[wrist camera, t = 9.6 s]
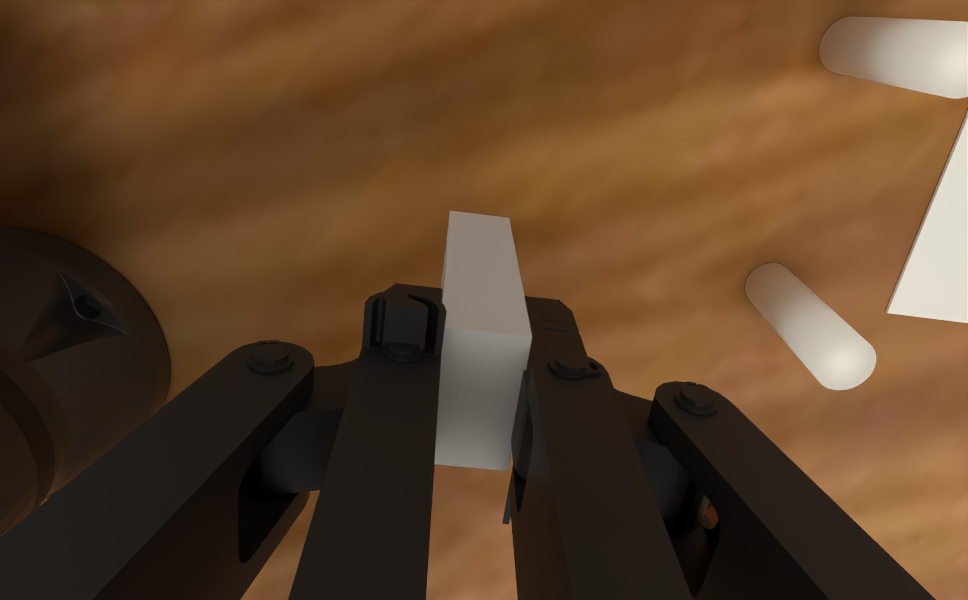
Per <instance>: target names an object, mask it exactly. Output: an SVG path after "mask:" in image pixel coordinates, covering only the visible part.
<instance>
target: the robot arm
mask: <svg viewBox="0 0 968 600" xmlns="http://www.w3.org/2000/svg"><path fill="white" fill-rule="evenodd" d="M169 377H170V367H169V358H168V353H167V348H166V345H165V341H164V338H163V335H162V333H161V330H160V328H159V326H158V324H157V322H156V320H155V318H154V316H153V315H152V313H151V311H150V310H149V308H148V307H147V305H146V304H145V302H144V301H143V300H142V298H141V297H140V296H139V295H138V293H137V292H136V291H135V290H134V289H133V288H132V287H131V286H130V285H129V283H128V282H127V281H125V280H124V279H123V278H122V277H121V276H120V275H119V274H118V273H117V272H115V271H114V270H113V269H112V268H111V267H109V266H108V265H107V264H105V263H104V262H103V261H101V260H100V259H98V258H97V257H95V256H93V255H92V254H90V253H88V252H87V251H85V250H83V249H81V248H79V247H77V246H75V245H73V244H71V243H68V242H66V241H64V240H61V239H58V238H56V237H53V236H50V235H46V234H43V233H39V232H34V231H29V230H23V229H14V228H0V600H240V599H241V598H242V596H243V595H244V593H245V592H246V591H247V589H248V588H249V586H250V585H251V583H252V582H253V581H254V579H255V578H256V576H257V575H258V573H259V572H260V570H261V569H262V568H263V566H264V565H265V563H266V562H267V560H268V559H269V557H270V556H271V555H272V553H273V552H274V550H275V549H276V547H277V546H278V545H279V543H280V542H281V540H282V539H283V537H284V536H285V534H286V533H287V532H288V530H289V529H290V527H291V526H292V524H293V523H294V522H295V520H296V519H297V517H298V516H299V514H300V513H301V511H302V510H303V509H304V507H305V506H306V503H307V501H308V498H309V493H310V491H314V490H320V493H319V497H318V500H317V503H316V507H315V510H314V514H313V517H312V521H311V524H310V527H309V531H308V534H307V538H306V541H305V544H304V548H303V551H302V555H301V558H300V562H299V565H298V568H297V572H296V575H295V579H294V582H293V586H292V589H291V592H290V596H289V599H288V600H426V587H427V571H428V556H429V540H430V524H431V509H432V493H433V477H434V464H437V465H448V466H458V467H469V468H480V469H491V470H501V471H508V467H509V461H510V456H511V450H512V456H513V469H512V474H511V480H510V485H509V490H508V496H507V501H506V507H505V512H504V517H503V523H502V524H509V521H510V517H511V522H512V534H513V546H514V558H515V570H516V583H517V595H518V600H936V599H935V598H934V597H933V596H931V595H930V594H929V593H928V592H927V591H926V590H925V589H924V588H923V587H922V586H921V585H920V584H919V583H918V582H917V581H916V580H915V579H914V578H913V577H912V576H911V575H910V574H909V573H908V572H907V571H906V570H905V569H903V568H902V567H901V566H900V565H899V564H898V563H897V562H896V561H895V560H894V559H893V558H892V557H891V556H890V555H889V554H888V553H887V552H886V551H885V550H884V549H883V548H882V547H881V546H880V545H879V544H878V543H877V542H875V541H874V540H873V539H872V538H871V537H870V536H869V535H868V534H867V533H866V532H865V531H864V530H863V529H862V528H861V527H860V526H859V525H858V524H857V523H856V522H855V521H854V520H853V519H852V518H851V517H850V516H849V515H847V514H846V513H845V512H844V511H843V510H842V509H841V508H840V507H839V506H838V505H837V504H836V503H835V502H834V501H833V500H832V499H831V498H830V497H829V496H828V495H827V494H826V493H825V492H824V491H823V490H822V489H821V488H819V487H818V486H817V485H816V484H815V483H814V482H813V481H812V480H811V479H810V478H809V477H808V476H807V475H806V474H805V473H804V472H803V471H802V470H801V469H800V468H799V467H798V466H797V465H796V464H795V463H794V462H793V461H792V460H790V459H789V458H788V457H787V456H786V455H785V454H784V453H783V452H782V451H781V450H780V449H779V448H778V447H777V446H776V445H775V444H774V443H773V442H772V441H771V440H770V439H769V438H768V437H767V436H766V435H765V434H764V433H762V432H761V431H760V430H759V429H758V428H757V427H756V426H755V425H754V424H753V423H752V422H751V421H750V420H749V419H748V418H747V417H746V416H745V415H744V414H743V413H742V412H741V411H740V410H739V409H738V408H737V407H736V406H734V405H733V404H732V403H731V402H730V401H729V400H728V399H726V398H725V397H724V396H722V395H721V394H719V393H717V392H715V391H713V390H711V389H709V388H708V387H706V386H704V385H701V384H698V385H697V384H696V383H693V382H677V381H674V382H668V383H663V384H662V385H660V386H659V387H657V388H656V392H655V395H654V399H653V401H650V400H647V399H643V398H640V397H636V396H633V395H629V394H626V393H624V392H621V391H618V390H616V389H614V387H613V385H612V382H611V379H610V377H609V374H608V372H607V371H606V369H605V368H604V367H603V365H601V364H600V363H598V362H597V361H595V360H594V359H592V358H590V357H587V354H586V351H585V348H584V345H583V342H582V339H581V337H580V334H579V331H578V328H577V325H576V322H575V319H574V316H573V313H572V311H571V310H570V309H569V308H568V307H567V306H565V305H564V304H563V303H562V302H561V301H560V300H554V299H545V298H537V297H528V296H524V292H523V287H522V282H521V277H520V272H519V267H518V261H517V256H516V251H515V246H514V241H513V236H512V231H511V226H510V220H509V218H506V217H498V216H490V215H481V214H473V213H465V212H457V211H450V214H449V223H448V231H447V240H446V248H445V257H444V265H443V274H442V282H441V288H433V287H424V286H415V285H406V284H397V283H396V284H395V285H393V286H392V287H390V288H389V289H387V290H386V291H384V292H380V293H378V294H375V295H373V296H370V297H369V299H368V300H367V301H366V302H365V311H364V326H363V340H362V349H361V353H360V356H359V358H357V359H355V360H353V361H350V362H347V363H343V364H339V365H332V366H321V367H314V360H313V356H312V354H311V353H310V352H308V351H307V350H306V349H305V348H303V347H300V346H297V345H295V344H292V343H286V342H280V341H275V340H269V341H259V342H256V343H252V344H248V345H244V346H242V347H240V348H238V349H236V350H234V351H232V352H231V353H230V354H228V355H227V356H226V357H225V358H223V359H222V360H221V361H220V362H218V363H217V364H216V365H215V366H213V367H212V368H211V369H210V370H208V371H207V372H206V373H205V374H204V375H202V376H201V377H200V378H199V379H197V380H196V381H195V382H194V383H192V384H191V385H190V386H189V387H187V388H186V389H185V390H184V391H182V392H181V393H180V394H179V395H177V396H176V397H175V398H174V399H172V400H171V401H170V402H169V403H167V404H166V405H165V406H164V407H163V405H164V402H165V399H166V396H167V392H168V387H169ZM49 497H50V498H49ZM47 498H49V499H48V500H47V501H45V502H44V503H43V504H42V505H40V504H41V503H42V502H43V501H44V500H46V499H47ZM709 501H710V502H711V503H712V505H713V507H714V509H715V510H716V513H717V516H718V522H717V523H716V525H713V524H712V523H711V521H710V520H709V519H708V518H707V516H706V515H705V511H706V508H707V505H708V502H709ZM39 505H40V506H39ZM38 506H39V507H38ZM37 507H38V508H37ZM36 508H37V509H36Z"/></svg>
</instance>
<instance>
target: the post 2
mask: <svg viewBox="0 0 968 600" xmlns="http://www.w3.org/2000/svg"><path fill="white" fill-rule="evenodd" d="M819 57H820V60H821V62H822V64H823V66H824V67H825V68H826V69H827V70H829V71H831V72H833V73H837V74H841V75H846V76H851V77H855V78H860V79H865V80H869V81H874V82H878V83H883V84H888V85H892V86H897V87H901V88H906V89H911V90H915V91H920V92H924V93H929V94H934V95H938V96H943V97H948V98H954V99H957V98H965V97H968V22H960V21H940V20H919V19H898V18H878V17H857V16H849V17H845V18H842V19H840V20H838V21H836V22H834V23H833V24H832V25H831V26H830V27H829V28H828V29H827V30H826V32H825V33H824V35H823V37H822V39H821V41H820V45H819Z"/></svg>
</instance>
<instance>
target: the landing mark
mask: <svg viewBox="0 0 968 600" xmlns="http://www.w3.org/2000/svg"><path fill="white" fill-rule="evenodd" d="M885 312H887V313H892V314H900V315H908V316H916V317H923V318H931V319H939V320H947V321H955V322H963V323H968V111H967V113H966V116H965V118H964V121H963V123H962V126H961V128H960V130H959V133H958V135H957V138H956V140H955V143H954V145H953V148H952V150H951V152H950V155H949V157H948V160H947V162H946V165H945V167H944V169H943V172H942V174H941V177H940V179H939V182H938V184H937V187H936V189H935V191H934V194H933V196H932V199H931V201H930V204H929V206H928V208H927V211H926V213H925V216H924V218H923V221H922V223H921V226H920V228H919V230H918V233H917V235H916V238H915V240H914V243H913V245H912V248H911V250H910V252H909V255H908V257H907V260H906V262H905V265H904V267H903V269H902V272H901V274H900V277H899V279H898V282H897V284H896V287H895V289H894V291H893V294H892V296H891V299H890V301H889V304H888V306H887V308H886V311H885Z"/></svg>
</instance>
